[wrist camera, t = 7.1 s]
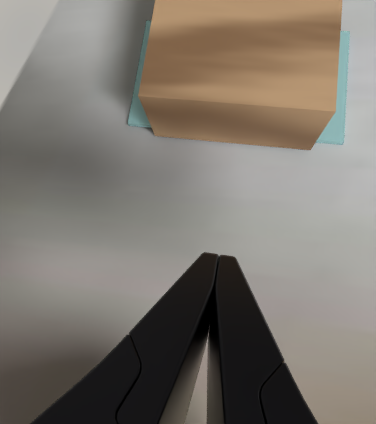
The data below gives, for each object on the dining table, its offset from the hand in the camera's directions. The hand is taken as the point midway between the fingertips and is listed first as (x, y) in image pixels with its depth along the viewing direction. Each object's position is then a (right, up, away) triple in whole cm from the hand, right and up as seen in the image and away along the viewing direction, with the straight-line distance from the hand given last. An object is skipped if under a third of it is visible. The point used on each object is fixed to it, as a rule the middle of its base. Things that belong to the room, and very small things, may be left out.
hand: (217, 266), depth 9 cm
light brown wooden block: (+2, +6, +11) cm, 13 cm away
